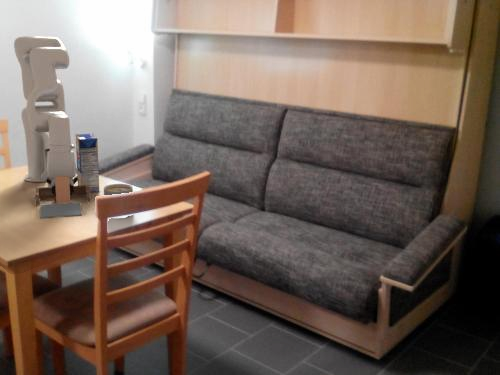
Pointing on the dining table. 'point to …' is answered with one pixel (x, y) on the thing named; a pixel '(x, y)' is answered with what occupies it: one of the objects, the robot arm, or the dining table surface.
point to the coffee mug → (117, 189)
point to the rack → (47, 193)
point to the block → (62, 190)
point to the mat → (60, 210)
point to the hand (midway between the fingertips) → (63, 194)
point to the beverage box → (87, 161)
